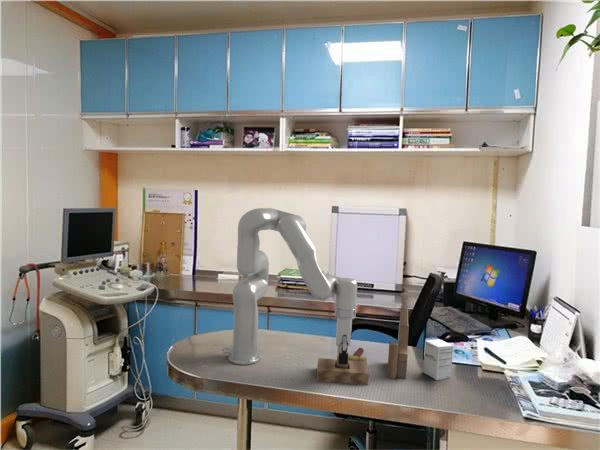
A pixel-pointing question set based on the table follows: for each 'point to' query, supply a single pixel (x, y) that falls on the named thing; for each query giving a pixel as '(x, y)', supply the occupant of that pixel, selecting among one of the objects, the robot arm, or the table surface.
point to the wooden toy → (399, 349)
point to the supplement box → (438, 359)
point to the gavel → (357, 356)
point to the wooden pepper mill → (344, 366)
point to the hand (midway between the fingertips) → (342, 358)
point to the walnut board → (342, 372)
